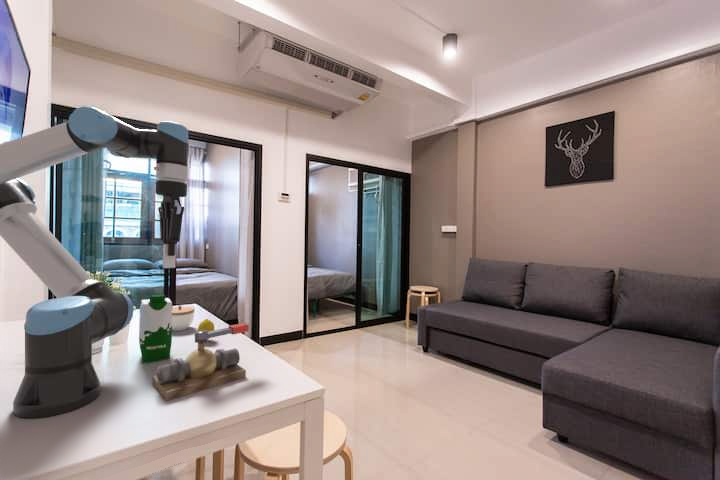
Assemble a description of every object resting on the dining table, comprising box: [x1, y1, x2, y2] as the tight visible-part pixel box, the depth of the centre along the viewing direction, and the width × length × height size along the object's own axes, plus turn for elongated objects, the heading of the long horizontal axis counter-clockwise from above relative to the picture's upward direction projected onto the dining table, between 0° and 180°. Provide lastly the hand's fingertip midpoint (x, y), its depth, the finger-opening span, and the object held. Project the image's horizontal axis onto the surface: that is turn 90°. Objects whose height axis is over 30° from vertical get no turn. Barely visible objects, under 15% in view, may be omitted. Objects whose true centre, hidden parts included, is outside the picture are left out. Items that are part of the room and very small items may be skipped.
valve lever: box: [194, 322, 250, 344], centre depth 96 cm, size 15×3×2 cm, turn 140°
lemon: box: [197, 318, 215, 340], centre depth 124 cm, size 6×6×8 cm
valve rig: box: [151, 342, 247, 401], centre depth 92 cm, size 20×12×10 cm, turn 136°
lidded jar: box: [172, 304, 195, 332], centre depth 138 cm, size 11×11×9 cm
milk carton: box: [138, 293, 173, 364], centre depth 107 cm, size 9×9×20 cm
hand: (169, 267), depth 93 cm, fingers closed
